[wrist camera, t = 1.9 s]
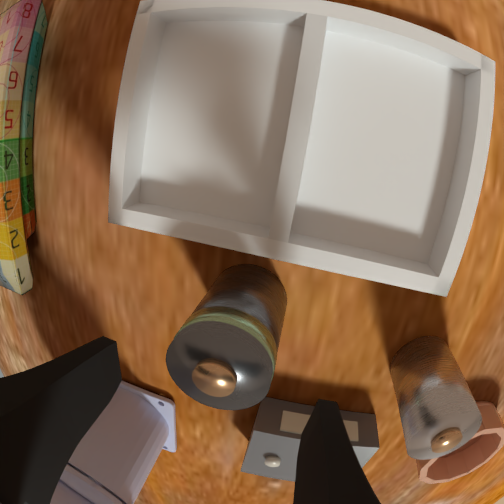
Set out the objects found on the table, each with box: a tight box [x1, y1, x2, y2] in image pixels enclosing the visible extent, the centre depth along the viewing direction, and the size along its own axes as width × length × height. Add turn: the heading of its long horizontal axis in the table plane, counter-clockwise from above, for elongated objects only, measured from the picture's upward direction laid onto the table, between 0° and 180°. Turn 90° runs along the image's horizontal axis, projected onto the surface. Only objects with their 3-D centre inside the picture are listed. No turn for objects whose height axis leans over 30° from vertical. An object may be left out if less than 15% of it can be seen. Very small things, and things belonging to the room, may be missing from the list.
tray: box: [108, 0, 495, 297], centre depth 11 cm, size 16×11×2 cm
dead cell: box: [390, 336, 482, 460], centre depth 12 cm, size 4×4×6 cm
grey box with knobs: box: [241, 397, 379, 481], centre depth 17 cm, size 8×6×3 cm
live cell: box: [166, 264, 287, 410], centre depth 13 cm, size 4×4×6 cm
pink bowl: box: [416, 401, 504, 484], centre depth 15 cm, size 8×8×3 cm
